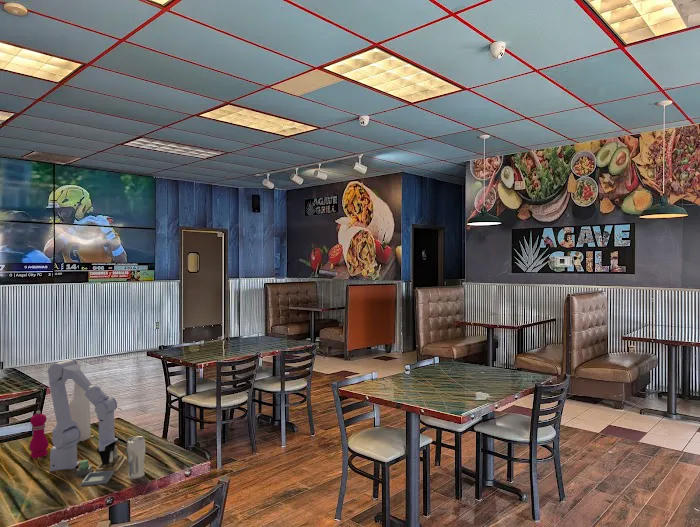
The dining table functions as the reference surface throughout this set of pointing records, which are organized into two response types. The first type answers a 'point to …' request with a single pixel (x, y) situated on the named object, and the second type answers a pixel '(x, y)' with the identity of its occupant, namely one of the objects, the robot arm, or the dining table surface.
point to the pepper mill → (38, 436)
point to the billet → (109, 461)
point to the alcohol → (81, 412)
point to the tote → (97, 478)
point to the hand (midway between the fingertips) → (107, 462)
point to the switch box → (84, 471)
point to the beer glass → (135, 456)
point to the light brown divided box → (117, 462)
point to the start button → (84, 464)
